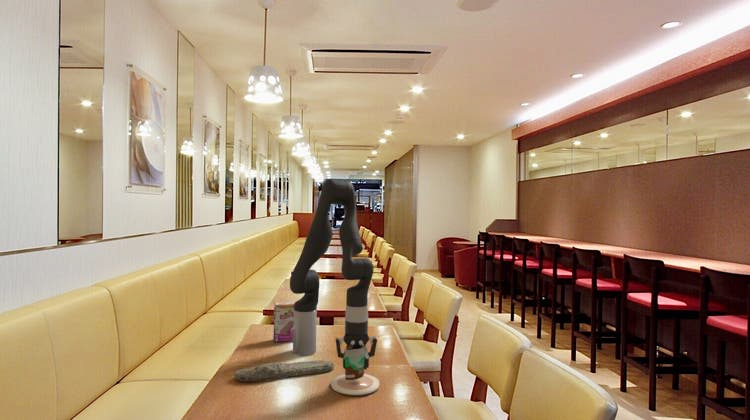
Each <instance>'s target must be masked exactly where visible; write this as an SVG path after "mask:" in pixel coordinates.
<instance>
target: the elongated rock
mask: <svg viewBox="0 0 750 420" xmlns="http://www.w3.org/2000/svg"><path fill="white" fill-rule="evenodd" d="M334 368H335V366H334V361H332V360H323V359H318V360H309V361H306V360H305V361H298V362H290V363H289V362H288V363H287V362H279V361H275V362H269V363H264V364H258V365H256V366H255V365H254V366H250V367H245V368H242V369H238V370H235V372H234V379H235V380H236V381H238V382H251V381H252V382H254V381H257V382H262V381H263V380H265V381H266V380H267V381H266V382H269V380H270V381H275V380H276V379H283V378H284V379H286V378H289V377H291V376H294V377H295V376H298V377H299V376H303V375H313V374H314V375H315V374H317V375H318V374H322V373H326V372H330V371H333V370H334Z"/></svg>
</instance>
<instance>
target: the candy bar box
mask: <svg viewBox="0 0 750 420" xmlns="http://www.w3.org/2000/svg"><path fill="white" fill-rule="evenodd" d="M295 302H296V301H295ZM295 302H293V301H292V302H289V301H288V302H274V305H273V335H272V336H273V339H272V340H273V343H285V342H286V343H287V342H293V326H294V303H295Z"/></svg>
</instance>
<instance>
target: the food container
mask: <svg viewBox="0 0 750 420" xmlns="http://www.w3.org/2000/svg"><path fill="white" fill-rule="evenodd" d="M344 351H345V356H344V357H345V369H344V374H345V380H355V379H359V378H361V377H363V376H364V374H365V370H364V365H365V353H367V352H368V346H367V344H366V345H365V347H363V348H360V349H351V350H350V349H349V350H345V349H344Z"/></svg>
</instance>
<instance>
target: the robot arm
mask: <svg viewBox="0 0 750 420" xmlns="http://www.w3.org/2000/svg"><path fill="white" fill-rule="evenodd" d="M356 203H357V202H356V192H355V187H354V184H353V183H352V182H350V181H348V180H344V179H337V178H327V179H326V180H325V181H324V183H323V184H322V188H321V191H320V195H319V198H318V202H317V205H316V209H315V213H314V217H313V218H312V219H313V220H312V222H311V225H310V226H309V227H310V228H309V230H308V233H307V236H306V238H305V241H304V245H303V248H302V251H301V253H300V256H299V258H298V260H297V263H296V265H295V266H294V268H293V270H292V273H291V275H290V278H289V288H290V289H289V290H290V291H291V292H292V293H293V294H296V295H301V294H302V295H303V296H302V297H301V298H299V299H298V300H296V301H295V303H294V326H293V341H292V355H297V356H310V355H313V354H315V353H316V352H317V322H318V321H317V316H318V315H317V313H318V310H317V309H318V304H319V296H320V276H319V273H318V272H317V270H315V269H312V267H313V266H314V265H315V263H317V262H318V261H320V259H321V258H322V257H323V256H324V255H326V253H327V251H328V249H329V247H330V244H331V243H332V240H333V237H334V235H333V234H334V233H333V228H332V225H331V221H330V217H329V212H330V207H331V206H332V205H335V206H336V205H338V206H343V208H344V213H345V214H344V217H343V220H342V222H341V224H340V227H339V230H338V231H339V232H338V236H339V240H340V245H341V251H342V254H341V256H342V257H341V259H342V260H341V269H340V270H341V275H342V276H343V278H344V279H345V280H347V281H358V282H357V284H355V285H352V286H349V287H347V289H346V294H345V295H346V297H345V298H346V299H345V301H346V304H345V313H344V314H345V316H344V317H345V318H344V322H345V323H344V327H345V328H344V336H343V337H340V338H339V337H335V345H336V353H337V358H338V359H339V358H341V359H342V367H343V369H344V370H345V357H344V356H345V350H349V349H350V350H351V349H360V348H363V347H365V345H366V346H367V344H368V342H369V343H370V344H371V345H370V351H369V352H368V351H367V353H365V365H364V371H367V369H368V368H369V366H370V365H369V363H370V358H372V357H374V356H375V354H376V350H377V349H376V347H377V343H378V340H377V338H376V336H369V335H368V334H369V333H368V332H369V309H368V298H369V297H368V295H369V289H370V286H371V283H372V278H373V276H374V272H375V271H374V264H373V261H372V260H371V259H370V258H367V257H362V258H361V257H360V258H359V257H356V258H353V257H354V256H358V255H360V254H361V253H362V252H363V249H364V248H363V242H362V238H361V234H360V230H359V225H358V214H357V204H356ZM343 342H344V343H345V349H344V351H343V352H342V348H341V346H342V345H343Z"/></svg>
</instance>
